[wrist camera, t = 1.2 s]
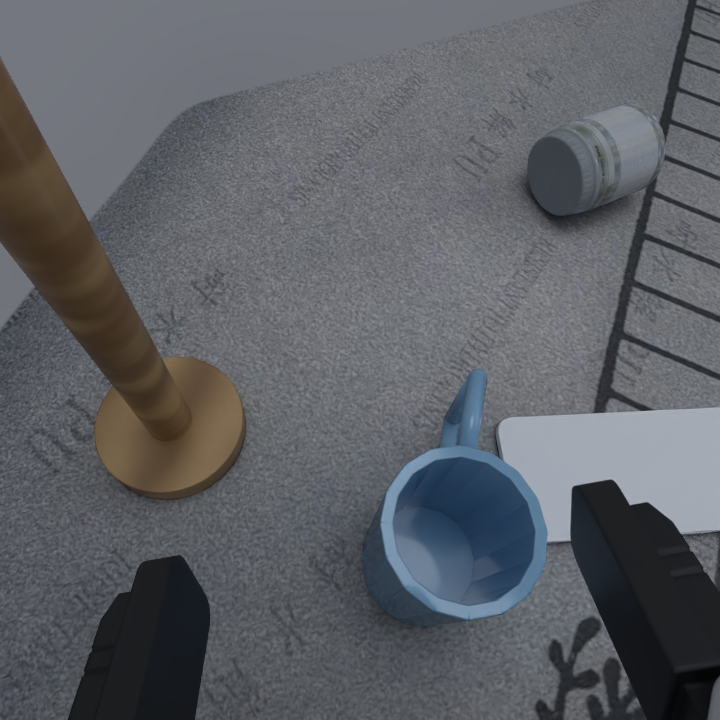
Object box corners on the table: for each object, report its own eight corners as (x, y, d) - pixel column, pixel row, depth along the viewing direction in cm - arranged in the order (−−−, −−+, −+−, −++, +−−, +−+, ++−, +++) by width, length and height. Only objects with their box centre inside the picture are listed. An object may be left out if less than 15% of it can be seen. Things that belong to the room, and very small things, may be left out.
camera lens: (557, 237, 42) (637, 204, 44) (601, 182, 36) (691, 147, 38) (512, 172, 43) (592, 143, 45) (548, 109, 38) (637, 79, 40)
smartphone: (495, 417, 34) (731, 405, 35) (492, 421, 34) (723, 410, 36) (519, 544, 30) (778, 527, 32) (515, 546, 31) (769, 529, 32)
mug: (470, 640, 29) (539, 639, 20) (348, 608, 29) (364, 593, 20) (496, 440, 34) (561, 367, 25) (392, 414, 34) (420, 333, 25)
